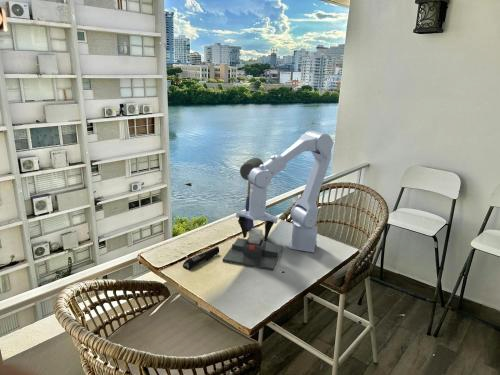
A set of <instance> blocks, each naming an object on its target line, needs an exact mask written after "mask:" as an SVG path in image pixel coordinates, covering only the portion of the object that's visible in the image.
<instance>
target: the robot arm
mask: <svg viewBox="0 0 500 375" xmlns="http://www.w3.org/2000/svg"><path fill="white" fill-rule="evenodd" d="M334 144H335V143H334V140H333V139H332V137H331V135H329V133H323V132H319V131H315V130H313V129H309V130H307V131H306V132H304V133H302V134H301V135H300V137H299V139H297V140H296V141H295V142H294V143H293V144H292V145H291V146H290V147H288V148H287V149H286V150H284V151H283V152H282V153H281V154H274V155H273V154H272V155H270V156H269V159H268V160H267V161H265V162H263V164H261V165H260V167H259V168H254V169H252V170H251V171H250V173H249V175H248V180H249V181H250V201H249V211H246V210H237V211H235V212H236V214H235V218H238V220H237V221H238V222H237V223H238V224H239V227H240V228H241V231H242V237H243V238H242V239H246V237H247V236H248V230H247V223H248V219H251V220H253V221H255V222H257V221H262V222H265V223H264V238H263V239H264V241H266V242H267V241H268V237H269V234H270V231H271V229H272V227H273V226H274V224H277V223H278V216H276V215H272V214H268V213H266V206H267V191H268V187H269V186H270V184H271V182H272V180H273V178H274V177H275V176H277V175H279V173H281V172H282V171H283V170H285V169H286V167H287V163H289V162H291V161H292V160H293V159H295V158H297V157H298V156H300V155H301V154H302V153H304V152H311V153H312V156H313V157H314V160H313V163H312V166H311V169H310V172H309V175H308V177H307V181H306V184H305V187H304V190H303V193H302V195H301V198H299V199H297V200H296V201H295V204H294V205H293V207H292V208H291V210H290V212H289V213H290V217H291V219H292V233H291V241H290V243H289V245H288V249H291V250H297V251H301V252H308V253H315V249H316V246H317V243H318V242H317V237H318V226H316V224H317V222H318V213H319V209H318V205H317V200H318V198H319V194H320V191H321V188H322V185H323V183H324V180H325V176H326V175H327V171H328V168H329V166H330V162H331V159H332V149H333V145H334ZM248 180H247V181H248Z"/></svg>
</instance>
